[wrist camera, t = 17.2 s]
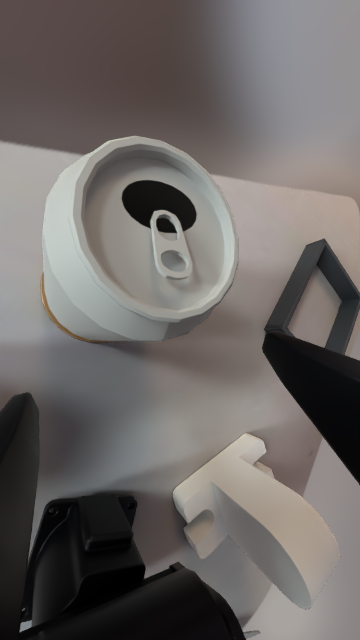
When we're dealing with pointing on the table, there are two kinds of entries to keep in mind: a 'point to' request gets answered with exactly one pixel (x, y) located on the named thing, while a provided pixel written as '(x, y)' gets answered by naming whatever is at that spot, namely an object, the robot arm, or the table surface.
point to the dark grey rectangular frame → (339, 281)
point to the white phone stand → (258, 520)
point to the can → (136, 243)
